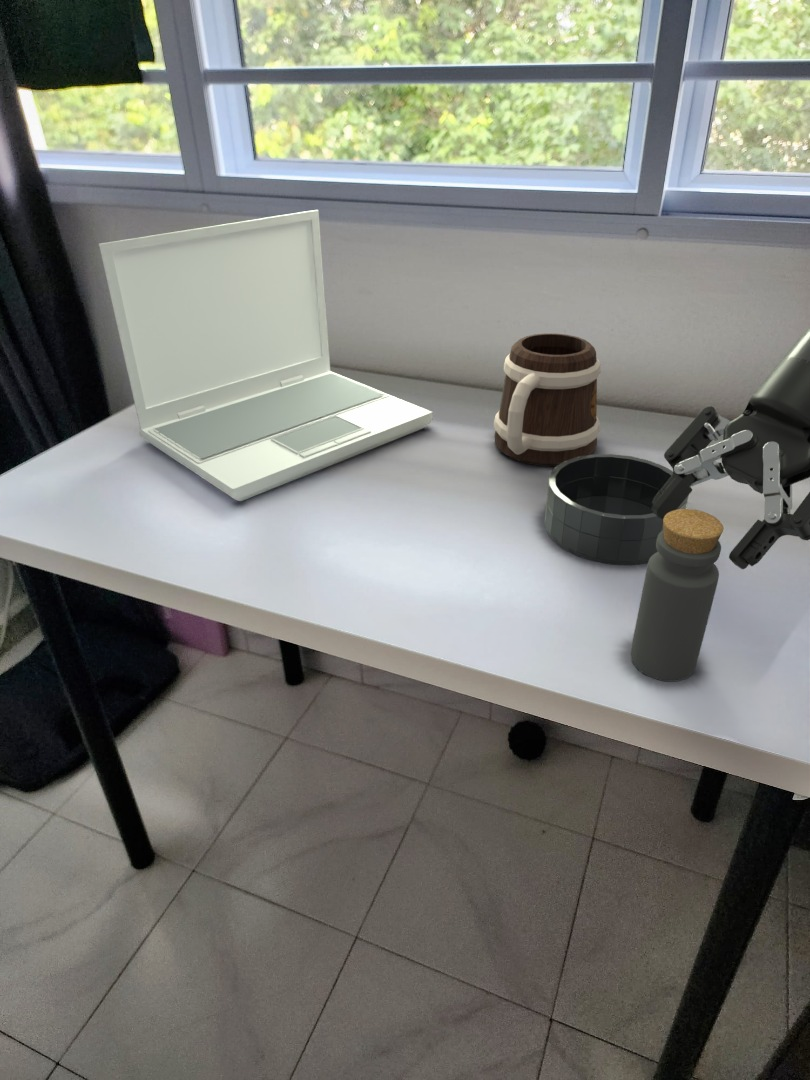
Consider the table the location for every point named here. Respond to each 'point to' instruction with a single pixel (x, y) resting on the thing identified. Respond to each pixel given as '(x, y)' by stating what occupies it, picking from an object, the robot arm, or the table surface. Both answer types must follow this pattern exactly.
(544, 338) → the mug
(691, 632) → the bottle
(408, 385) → the table surface
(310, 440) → the laptop
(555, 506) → the pot
